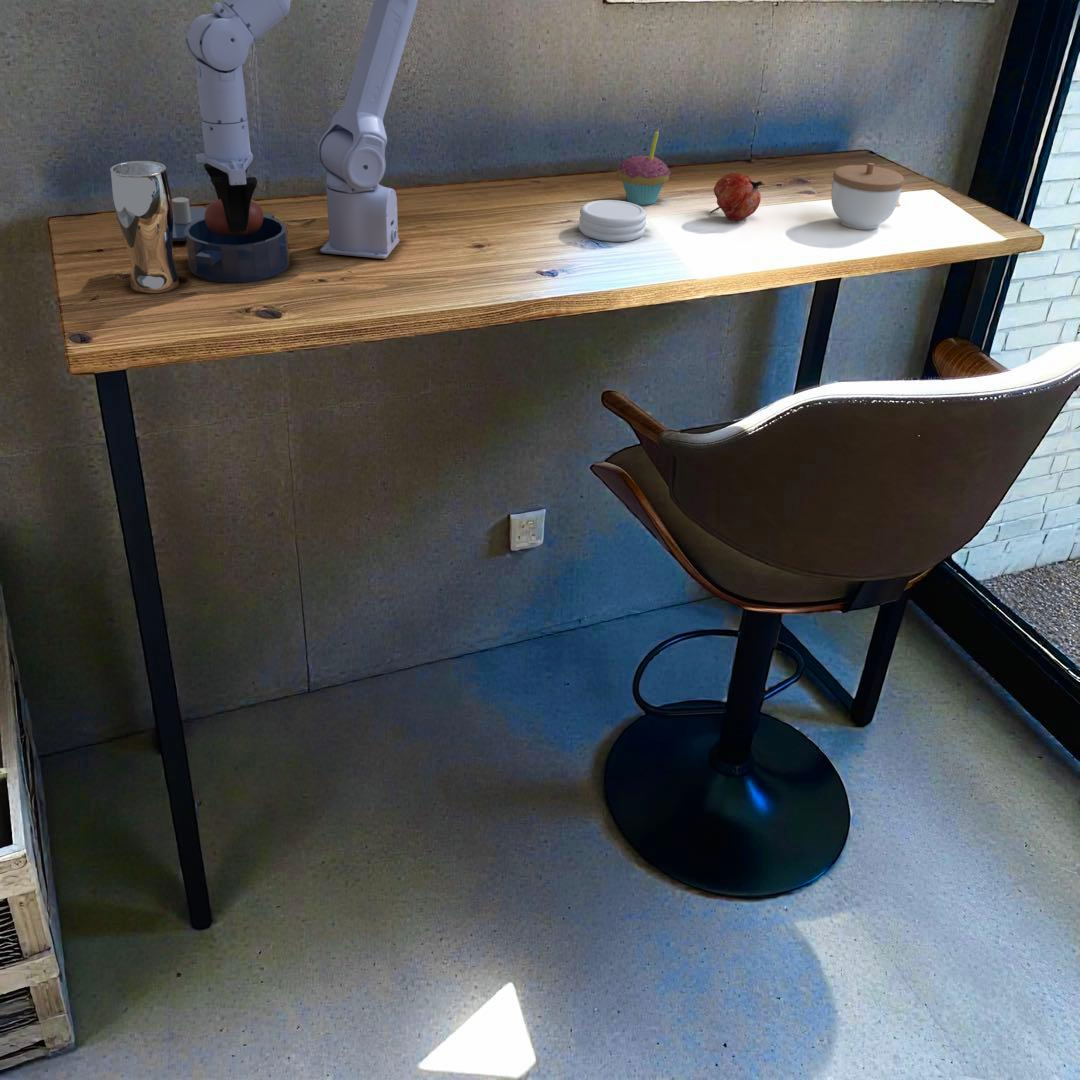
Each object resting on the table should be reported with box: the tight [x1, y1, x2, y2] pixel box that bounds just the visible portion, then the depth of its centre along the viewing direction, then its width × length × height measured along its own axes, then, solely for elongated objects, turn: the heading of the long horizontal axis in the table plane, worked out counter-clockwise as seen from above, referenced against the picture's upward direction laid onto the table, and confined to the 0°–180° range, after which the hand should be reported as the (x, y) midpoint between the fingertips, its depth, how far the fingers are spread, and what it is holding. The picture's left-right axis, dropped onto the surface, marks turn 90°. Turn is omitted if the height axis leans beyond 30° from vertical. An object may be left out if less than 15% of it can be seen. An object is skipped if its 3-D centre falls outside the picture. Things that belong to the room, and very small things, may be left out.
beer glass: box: [109, 160, 180, 294], centre depth 147 cm, size 7×7×15 cm
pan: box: [184, 213, 290, 284], centre depth 157 cm, size 13×19×5 cm
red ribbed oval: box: [205, 198, 264, 236], centre depth 155 cm, size 8×5×5 cm, turn 111°
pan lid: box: [172, 196, 207, 242], centre depth 168 cm, size 14×14×4 cm
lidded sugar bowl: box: [830, 162, 905, 231], centre depth 182 cm, size 11×11×9 cm
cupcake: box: [616, 127, 672, 206], centre depth 187 cm, size 9×8×12 cm
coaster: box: [578, 199, 647, 243], centre depth 175 cm, size 10×10×4 cm
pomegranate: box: [709, 172, 766, 222], centre depth 183 cm, size 7×7×10 cm
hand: (235, 224), depth 155 cm, fingers closed on red ribbed oval, 5 cm apart
